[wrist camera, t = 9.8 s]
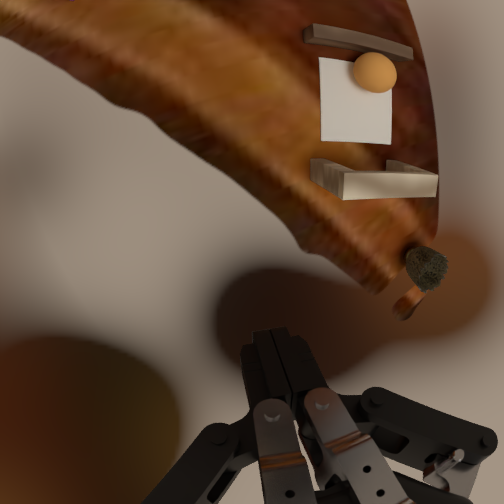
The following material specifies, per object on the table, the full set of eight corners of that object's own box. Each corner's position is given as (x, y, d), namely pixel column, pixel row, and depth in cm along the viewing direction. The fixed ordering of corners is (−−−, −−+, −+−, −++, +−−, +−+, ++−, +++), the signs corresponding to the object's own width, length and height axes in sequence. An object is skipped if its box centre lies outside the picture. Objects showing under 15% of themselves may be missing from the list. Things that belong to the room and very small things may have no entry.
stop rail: (303, 30, 28) (312, 23, 24) (398, 50, 30) (412, 48, 27) (303, 42, 28) (314, 36, 25) (399, 61, 31) (413, 59, 28)
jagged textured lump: (426, 234, 46) (453, 253, 39) (418, 267, 50) (442, 288, 43) (398, 238, 45) (426, 259, 38) (391, 273, 48) (415, 297, 42)
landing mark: (318, 57, 30) (319, 57, 29) (389, 70, 31) (390, 70, 31) (320, 140, 35) (321, 140, 35) (390, 144, 37) (390, 144, 37)
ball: (346, 91, 32) (343, 53, 30) (379, 97, 33) (377, 61, 31) (372, 86, 27) (368, 43, 24) (406, 95, 28) (403, 55, 26)
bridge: (310, 158, 36) (344, 172, 28) (396, 160, 38) (438, 175, 30) (310, 179, 38) (342, 200, 29) (394, 178, 40) (435, 196, 31)
